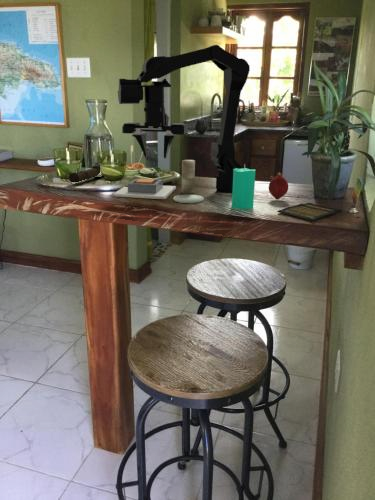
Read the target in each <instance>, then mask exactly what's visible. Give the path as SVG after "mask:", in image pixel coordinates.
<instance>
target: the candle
mask: <svg viewBox="0 0 375 500" xmlns="http://www.w3.org/2000/svg"><path fill="white" fill-rule="evenodd" d="M243 167H244V168H243ZM243 167H242V169H238V168H235V169H233V190H232V193H231V195H232V196H231V207H232V208H233V209H237V210H252V209H253V208H254V202H255V201H254V199H255V186H256V184H255V183H256V171H257V170H256V169H250V168H247V167H246V163H244V166H243Z"/></svg>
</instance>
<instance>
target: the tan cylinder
mask: <svg viewBox="0 0 375 500" xmlns="http://www.w3.org/2000/svg"><path fill="white" fill-rule="evenodd" d="M195 166H196V160H194V159H184V160H182V161H181V194H183V195H194V193H195V182H196V181H195V176H196V175H195V174H196V172H195V171H196V170H195V169H196V167H195Z"/></svg>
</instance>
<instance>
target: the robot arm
mask: <svg viewBox="0 0 375 500" xmlns="http://www.w3.org/2000/svg"><path fill="white" fill-rule="evenodd" d="M205 62H212V63H213V64H214V65H215V66H216V67H217V68H219V69H220V70H221V71H222V72H223V82H224V87H225V95H224V99H223V100H224V101H223V109H222V115H221V120H220V126H219V127H220V128H219V135H218V138H217V140H216V142H213V141H212V142H211V146H210V147H211V148H210V149H211V150H210V153H209V156H211V158H210V159H211V161H212V163H213V164H214V165H215V167H216V169H217V171H218V172H217V175H216V177H215V189H216V192H218V193H231V194H232V190H233V169H235V168H238V169H242V168H243V166H242V165H241V164H240V163H239V162H238V161H237V160H236V147H235V146H236V145H235V142H234V139H235V138H234V137H235V130H236V125H237V120H238V119H237V118H238V111H239V106H240V105H239V104H240V99H241V94H242V91H243V88H244V87H245V85H246V83H247V81H248V77H249V74H250V70H251V69H250V64H249V63H248V61H247V60H246V59H245V58H238V57H237V56H236V55H234V54H232V53H231V52H228V51H227V50H225V49H224V48H222V47H221V46H220V45H218V44H213V45H210V46H207V47H205V48H202V49H197V50H193V51H189V52H186V53H181V54H177V55H163V56H152V57H150V58H147V59H145V60H144V61H143V64H142V70H141V72H140V74H139V75H138V76H137V78H136V79H128V78H127V79H126V78H119V79H118V91H117V98H118V99H117V100H118V103H119V105H139V104H140V103H141V101H144V107H143V112H144V121H145V122H143V124H141V123H140V122H126V123H123V125H122V128H121V130H122V134H132V135H131V137H134V138H135V139H136V141H137V143H138V145H139V146H140V148H141V149H140V150H141V151H142V154H143V156H144V158H145V159H147V158H148V147H147V146H148V145H147V144H148V143H147V132H150V133H151V132H152V133H153V132H154V133H156V132H157V133H160V132H161V133H166V134H165V135H164V136H163V158H164V159H167V158H168V157H167V156H168V153H169V150H170V147H171V145H172V142H173V140H174V138H176V137H178V135H182V136H183V135H186V134H188V124H186V123H178V122H177V123H171V124H170V125H169V119H170V117H169V116H168V114H167V113H166V108H165V88H171V87H172V84H171V83H169V82H168V80H167V78H163V77H164V76H167V75H169V74H171V73H173V72H174V71H177V70H180V69H183V68H187V67H191V66H194V65H195V66H196V65H198V64H203V63H205ZM161 78H163V79H162V80H158V81H157V79H161ZM150 81H151V82H150ZM149 82H150V84H148V85H147V84H145V85H144V83H149ZM142 83H143V85H142Z"/></svg>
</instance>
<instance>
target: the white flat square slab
mask: <svg viewBox="0 0 375 500" xmlns="http://www.w3.org/2000/svg"><path fill="white" fill-rule="evenodd" d="M139 179H140V178H134V179H132V180H131V181H129V182H128V183H127V185H128V187H125V186H123V187H122V188H119V190H117V191H115V192H113V194H112V196H113V197H116V198H117V197H118V198H136V199H137V198H138V199H151V200H153V199H156V200H166V199H167V198H168V197H169V196H170V195H171V194H172V193H173V192H174V191H175V190H176V188H177V186H176V185H164V179H156V178H155V183H154V184H141V183H136V181H137V180H139Z"/></svg>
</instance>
